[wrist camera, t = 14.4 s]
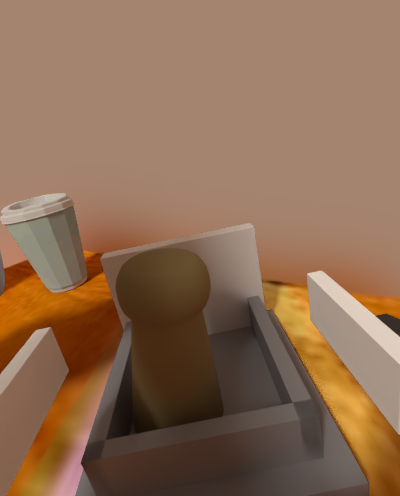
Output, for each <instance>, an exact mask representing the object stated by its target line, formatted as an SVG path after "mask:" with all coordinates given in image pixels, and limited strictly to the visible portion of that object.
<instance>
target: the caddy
mask: <svg viewBox="0 0 400 496" xmlns="http://www.w3.org/2000/svg"><path fill="white" fill-rule="evenodd" d="M159 248H179V249H185V250H188V251H190V252H193V253H195V254H197V255H198V256H199V257H200V258H201V259H202V260H203V262H204V263H205V264H206V266H207V269H208V272H209V276H210V283H211V290H210V295H209V299H208V301H207V304H206V306H205V308H204V309H203V314H204V318H205V323H206V327H207V332H208V337H209V341H210V346H211V350H212V355H213V359H214V364H215V368H216V373H217V378H218V382H219V387H220V391H221V396H222V401H223V407H224V411H223V416H222V417H218V418H213V419H208V420H203V421H198V422H193V423H188V424H183V425H178V426H173V427H168V428H163V429H158V430H153V431H148V432H143V433H138V434H137V433H136V432H135V427H134V423H133V410H132V344H131V319H129V318H128V317H127V316H126V315H125V314H124V313H123V311H122V309H121V307H120V305H119V302H118V298H117V294H116V289H115V287H116V278H117V276H118V273H119V271H120V269H121V267H122V265H123V264H124V263H125V262H126V261H127V260H129V259H130V258H131V257H133V256H135V255H137V254H139V253H142V252H145V251H148V250H153V249H159ZM100 261H101V264H102V267H103V270H104V273H105V276H106V279H107V282H108V285H109V288H110V291H111V294H112V297H113V300H114V303H115V306H116V309H117V312H118V315H119V318H120V321H121V324H122V327H123V330H124V332H123V335H122V338H121V341H120V344H119V347H118V350H117V353H116V356H115V359H114V363H113V366H112V369H111V372H110V375H109V378H108V381H107V384H106V387H105V390H104V393H103V396H102V399H101V403H100V406H99V409H98V412H97V415H96V418H95V421H94V424H93V427H92V430H91V433H90V436H89V439H88V443H87V446H86V449H85V452H84V455H83V458H82V461H81V464H82V466H83V468H84V469H83V473H82V476H81V479H80V482H79V485H78V489H77V492H76V495H75V496H369V482H368V481H367V479H366V477H365V475H364V473H363V472H362V470H361V468H360V466H359V464H358V463H357V461H356V459H355V457H354V456H353V454H352V452H351V450H350V448H349V447H348V445H347V443H346V441H345V439H344V438H343V436H342V434H341V432H340V430H339V429H338V427H337V425H336V423H335V421H334V420H333V418H332V416H331V414H330V413H329V411H328V409H327V407H326V405H325V404H324V402H323V400H322V398H321V396H320V395H319V393H318V391H317V389H316V387H315V386H314V384H313V382H312V380H311V378H310V377H309V375H308V373H307V371H306V369H305V368H304V366H303V364H302V362H301V361H300V359H299V357H298V355H297V353H296V352H295V350H294V348H293V346H292V344H291V343H290V341H289V339H288V337H287V335H286V334H285V332H284V330H283V328H282V326H281V325H280V323H279V321H278V319H277V317H276V316H275V314H274V312H273V310H267V311H266V308H265V301H264V294H263V287H262V280H261V273H260V266H259V259H258V252H257V245H256V238H255V230H254V227H253V226H252V225H251V223H247V224H243V225H238V226H233V227H228V228H223V229H218V230H213V231H209V232H204V233H199V234H194V235H189V236H185V237H180V238H175V239H170V240H165V241H160V242H155V243H150V244H146V245H141V246H136V247H131V248H127V249H121V250H117V251H112V252H107V253H104V254H103V255H102V257H101V258H100Z"/></svg>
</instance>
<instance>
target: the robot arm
mask: <svg viewBox="0 0 400 496" xmlns="http://www.w3.org/2000/svg"><path fill="white" fill-rule="evenodd" d="M307 282H308V293H309V305H310V316H311V321H312V323H313V324H314V325H315V326H316V328H317V329H318V330H319V332H320V333H321V334H322V336H323V337H324V338H325V339H326V341H327V342H328V343H329V345H330V346H331V347H332V349H333V350H334V351H335V353H336V354H337V355H338V356H339V358H340V359H341V360H342V362H343V363H344V364H345V366H346V367H347V368H348V369H349V371H350V372H351V373H352V375H353V376H354V377H355V379H356V380H357V381H358V383H359V384H360V385H361V386H362V388H363V389H364V390H365V392H366V393H367V394H368V396H369V397H370V398H371V400H372V401H373V402H374V403H375V405H376V406H377V407H378V409H379V410H380V411H381V413H382V414H383V415H384V416H385V418H386V419H387V420H388V422H389V423H390V424H391V426H392V427H393V428H394V430H395V431H396V432H397V433H398V435H399V434H400V319H398V318H395V317H393V316H391V315H388V314H382V315H378V316H375V315H373V314H372V313H371V312H370V311H369V310H367V309H366V308H365V307H364V306H363V305H362V304H360V303H359V302H358V301H357V300H356V299H355V298H353V297H352V296H351V295H350V294H349V293H348V292H346V291H345V290H344V289H343V288H342V287H340V286H339V285H338V284H337V283H336V282H335V281H333V280H332V279H331V278H330V277H329V276H328V275H326V274H325V273H324V272H323V271H318V272H313V273H308V274H307ZM4 288H5V273H4V267H3V262H2V257H1V253H0V296H1V295H2V294H3V291H4ZM68 372H69V369H68V366H67V364H66V362H65V359H64V357H63V355H62V352H61V350H60V347H59V345H58V343H57V340H56V338H55V336H54V333H53V331H52V329H51V327H48V328H43V329H39V330H36V331H35V332H34V333H33V334H32V336H31V337H30V338H29V339H28V341H27V342H26V343H25V344H24V345H23V347H22V348H21V349H20V350H19V352H18V353H17V354H16V355H15V357H14V358H13V359H12V360H11V362H10V363H9V364H8V365H7V367H6V368H5V369H4V370H3V372H2V373H1V374H0V496H6V495H7V493H8V491H9V489H10V487H11V485H12V483H13V481H14V479H15V477H16V475H17V473H18V471H19V469H20V467H21V465H22V463H23V461H24V459H25V457H26V455H27V453H28V451H29V449H30V447H31V445H32V443H33V441H34V439H35V437H36V435H37V433H38V431H39V429H40V427H41V425H42V424H43V422H44V420H45V418H46V416H47V414H48V412H49V410H50V408H51V406H52V404H53V402H54V400H55V398H56V396H57V394H58V392H59V390H60V388H61V386H62V384H63V382H64V380H65V378H66V376H67V374H68Z"/></svg>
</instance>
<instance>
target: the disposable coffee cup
mask: <svg viewBox="0 0 400 496" xmlns="http://www.w3.org/2000/svg"><path fill="white" fill-rule="evenodd" d="M73 205H74V203H73V201H72V199H71V198H70V197H67V194H65V193H56V194H48V195H42V196H39V197H34V198H31V199H27V200H23V201H20V202H16V203H13V204H11V205H9V206H7V207H5V208H4V209H3V210H2V211H1V212H2V214H3V216H1V217H0V219H1V222H2V224H4V225H5V226H6V228H7V229H8V231H9V232H10V234H11V235H12V237H13V238H14V240H15V241H16V242H17V244H18V246H19V247H20V249H21V250H22V252H23V253H24V255H25V256H26V258H27V259H28V261H29V262H30V264H31V265H32V267H33V268H34V270H35V271H36V273H37V274H38V276H39V277H40V279H41V280H42V282H43V283H44V285H45V286H46V288H47V289H49V290H50V291H51V292H53V293H60V292H65V291H68V290H71V289H74V288H76V287H77V286H79V285H81V284H83V283H84V282H85V281H86V280H87V275H88V273H87V267H86V263H85V258H84V253H83V249H82V244H81V239H80V235H79V230H78V225H77V221H76V216H75V211H74V207H73Z"/></svg>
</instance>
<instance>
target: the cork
mask: <svg viewBox="0 0 400 496" xmlns="http://www.w3.org/2000/svg"><path fill="white" fill-rule="evenodd" d="M115 289H116V294H117V298H118V302H119V305H120V307H121V309H122V311H123V313H124V314H125V315H126V316H127V317H128V318H129V319H131V344H132V410H133V423H134V427H135V432H136V433H137V434H138V433H143V432H148V431H153V430H158V429H163V428H168V427H173V426H178V425H183V424H188V423H193V422H198V421H203V420H208V419H213V418H218V417H222V416H223V411H224V407H223V401H222V396H221V391H220V387H219V382H218V378H217V373H216V368H215V364H214V359H213V355H212V350H211V346H210V341H209V337H208V332H207V327H206V323H205V318H204V314H203V309H204V308H205V306H206V304H207V301H208V299H209V295H210V290H211V283H210V276H209V272H208V269H207V266H206V264H205V263H204V262H203V260H202V259H201V258H200V257H199V256H198V255H197V254H195V253H193V252H190V251H188V250H185V249H179V248H159V249H153V250H148V251H145V252H142V253H139V254H137V255H135V256H133V257H131V258H130V259H129V260H127V261H126V262H125V263H124V264H123V265H122V267H121V269H120V271H119V273H118V276H117V278H116V287H115Z"/></svg>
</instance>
